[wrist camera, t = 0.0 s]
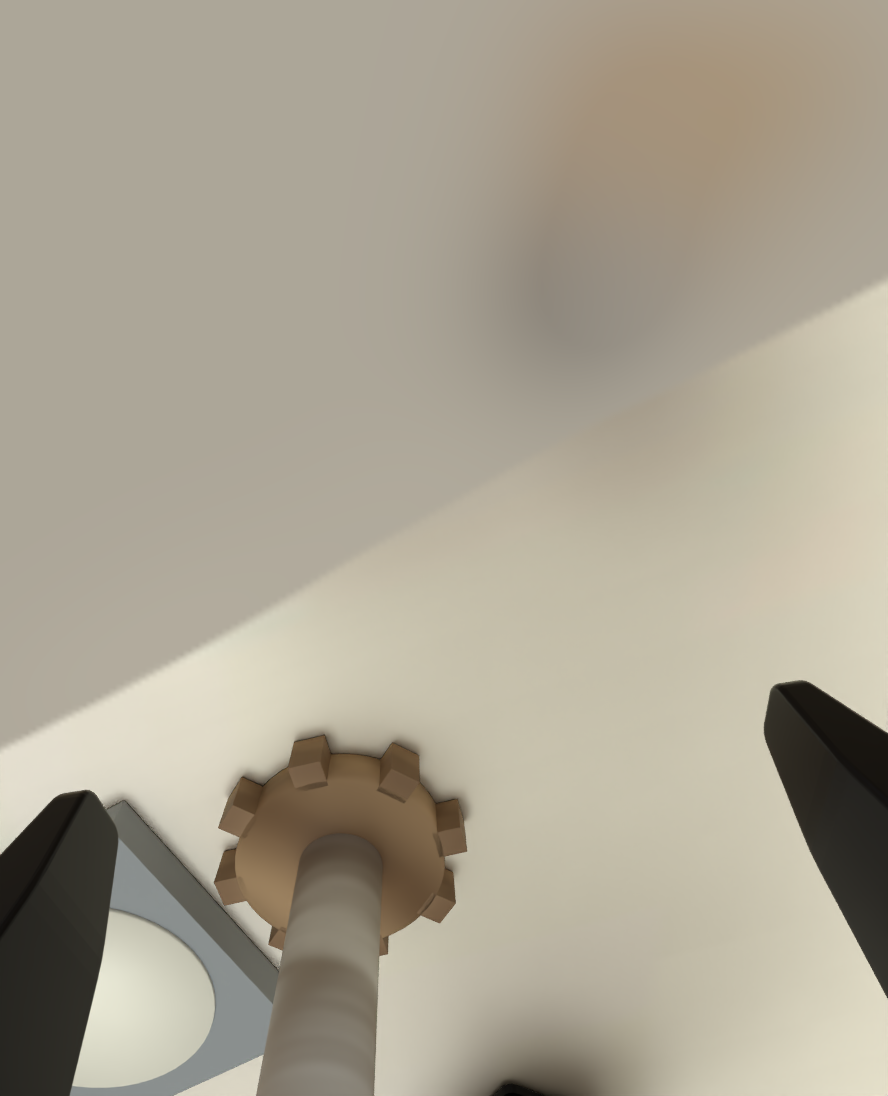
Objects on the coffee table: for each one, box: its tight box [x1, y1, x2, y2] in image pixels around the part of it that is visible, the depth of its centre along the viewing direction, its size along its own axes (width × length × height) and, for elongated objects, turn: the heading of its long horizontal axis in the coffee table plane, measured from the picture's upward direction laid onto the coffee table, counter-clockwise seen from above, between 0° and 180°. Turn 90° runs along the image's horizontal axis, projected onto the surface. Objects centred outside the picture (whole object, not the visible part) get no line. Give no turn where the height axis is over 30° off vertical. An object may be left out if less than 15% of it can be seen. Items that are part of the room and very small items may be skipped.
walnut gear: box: [214, 735, 467, 1096], centre depth 23 cm, size 10×10×12 cm
